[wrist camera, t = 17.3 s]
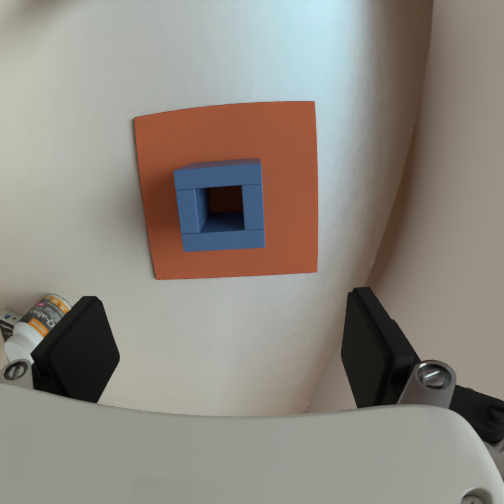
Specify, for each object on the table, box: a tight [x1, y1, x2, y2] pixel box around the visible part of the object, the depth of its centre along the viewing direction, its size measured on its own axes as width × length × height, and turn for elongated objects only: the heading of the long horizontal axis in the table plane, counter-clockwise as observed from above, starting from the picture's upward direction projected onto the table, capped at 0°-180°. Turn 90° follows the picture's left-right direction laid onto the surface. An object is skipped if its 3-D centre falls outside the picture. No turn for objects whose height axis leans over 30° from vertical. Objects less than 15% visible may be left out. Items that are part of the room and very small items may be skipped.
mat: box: [134, 101, 318, 280], centre depth 26 cm, size 16×16×1 cm
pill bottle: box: [4, 295, 71, 365], centre depth 27 cm, size 6×6×10 cm
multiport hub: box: [0, 309, 23, 342], centre depth 33 cm, size 4×11×2 cm, turn 170°
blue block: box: [173, 158, 265, 252], centre depth 23 cm, size 6×6×6 cm
